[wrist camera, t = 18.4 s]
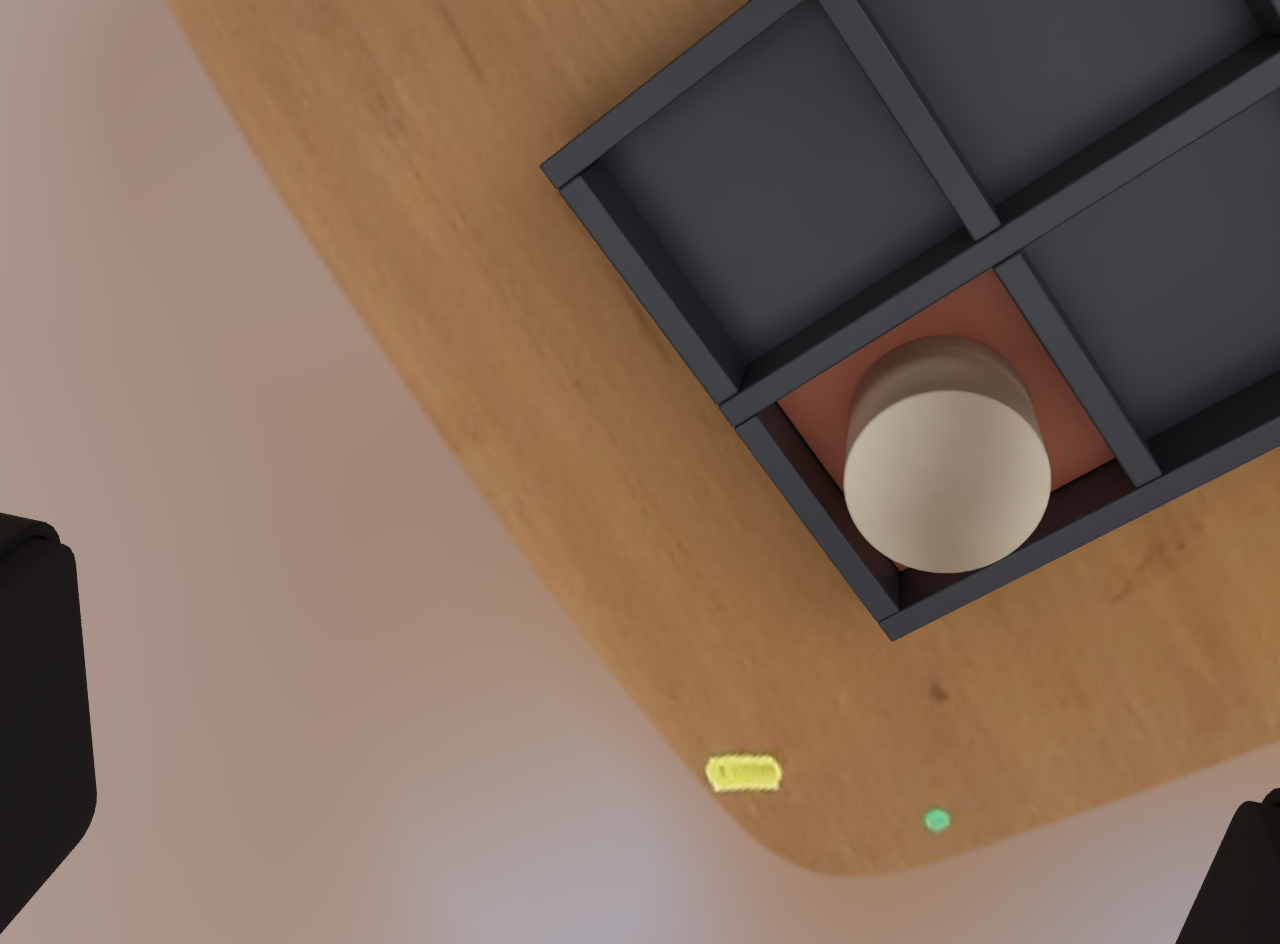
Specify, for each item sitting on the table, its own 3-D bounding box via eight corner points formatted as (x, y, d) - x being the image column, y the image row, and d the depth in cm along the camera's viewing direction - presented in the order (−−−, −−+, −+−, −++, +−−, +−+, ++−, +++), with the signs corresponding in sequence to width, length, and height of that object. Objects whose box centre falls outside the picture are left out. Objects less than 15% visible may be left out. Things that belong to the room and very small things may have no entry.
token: (831, 480, 32) (824, 549, 29) (871, 318, 30) (869, 371, 27) (1004, 518, 32) (1018, 593, 28) (1056, 355, 30) (1078, 414, 26)
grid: (567, 146, 31) (538, 166, 28) (1121, -287, 25) (1146, -311, 22) (891, 590, 34) (891, 643, 32) (1446, 299, 28) (1500, 336, 26)
